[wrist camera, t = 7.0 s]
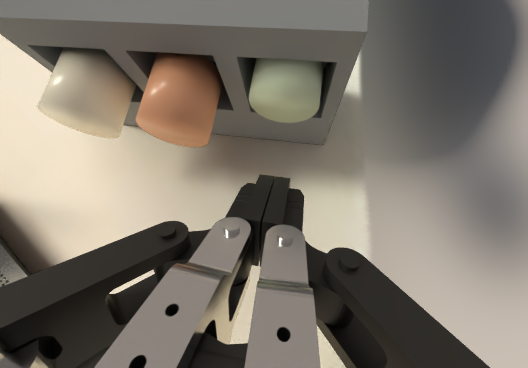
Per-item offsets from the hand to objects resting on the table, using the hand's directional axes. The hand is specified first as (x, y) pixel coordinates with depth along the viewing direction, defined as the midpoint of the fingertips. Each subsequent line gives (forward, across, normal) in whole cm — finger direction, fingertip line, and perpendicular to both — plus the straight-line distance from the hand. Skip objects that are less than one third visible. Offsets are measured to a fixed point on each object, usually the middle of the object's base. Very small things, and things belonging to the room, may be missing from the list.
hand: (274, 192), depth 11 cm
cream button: (+8, -16, +1) cm, 18 cm away
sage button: (+11, -1, +3) cm, 11 cm away
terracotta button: (+9, -8, +1) cm, 12 cm away
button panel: (+16, -8, +1) cm, 18 cm away
